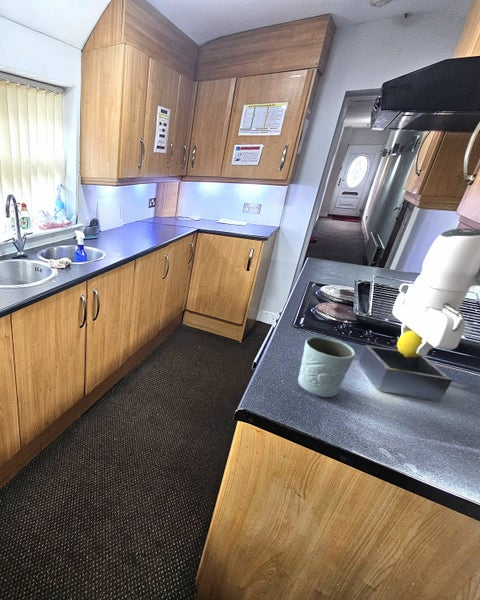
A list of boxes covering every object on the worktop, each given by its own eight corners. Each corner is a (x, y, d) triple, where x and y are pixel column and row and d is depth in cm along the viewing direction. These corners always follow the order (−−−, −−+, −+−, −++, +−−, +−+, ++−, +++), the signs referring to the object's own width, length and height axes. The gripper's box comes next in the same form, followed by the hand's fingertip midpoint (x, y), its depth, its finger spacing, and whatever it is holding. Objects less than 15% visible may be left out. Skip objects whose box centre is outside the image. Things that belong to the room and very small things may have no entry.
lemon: (421, 357, 85) (434, 330, 82) (421, 366, 81) (435, 338, 78) (392, 349, 88) (404, 323, 85) (391, 357, 85) (403, 330, 81)
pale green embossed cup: (320, 402, 79) (335, 361, 74) (284, 378, 88) (296, 339, 83) (350, 393, 82) (366, 353, 77) (312, 370, 91) (324, 333, 86)
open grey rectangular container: (411, 373, 91) (421, 353, 89) (440, 402, 80) (452, 379, 78) (357, 364, 95) (365, 344, 92) (377, 390, 84) (387, 368, 81)
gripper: (485, 316, 68) (455, 371, 73) (426, 285, 86) (405, 332, 91) (446, 311, 70) (419, 366, 75) (397, 282, 88) (378, 328, 93)
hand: (411, 347), depth 83 cm, fingers closed on lemon, 5 cm apart
